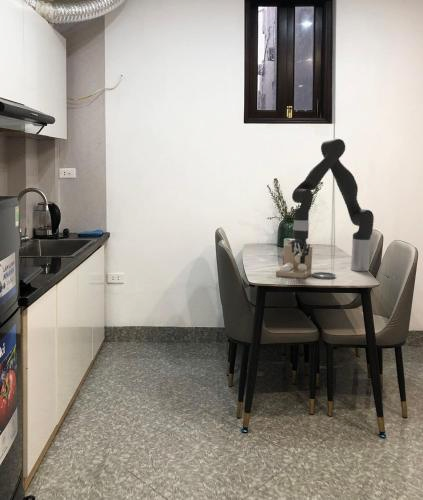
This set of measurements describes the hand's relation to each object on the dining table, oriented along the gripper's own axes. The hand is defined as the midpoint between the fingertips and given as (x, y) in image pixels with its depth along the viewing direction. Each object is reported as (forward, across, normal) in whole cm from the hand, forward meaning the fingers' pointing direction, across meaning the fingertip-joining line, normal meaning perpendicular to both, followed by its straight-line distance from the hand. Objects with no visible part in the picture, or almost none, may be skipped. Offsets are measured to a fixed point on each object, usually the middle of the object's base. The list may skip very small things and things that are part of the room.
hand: (299, 262), depth 242 cm
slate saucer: (+7, +4, +12) cm, 15 cm away
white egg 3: (+4, -5, +5) cm, 8 cm away
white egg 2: (+4, -10, 0) cm, 11 cm away
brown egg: (-2, 0, 0) cm, 2 cm away
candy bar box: (+7, -20, +8) cm, 23 cm away
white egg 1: (+4, -5, -5) cm, 8 cm away
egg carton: (+7, -5, 0) cm, 9 cm away
